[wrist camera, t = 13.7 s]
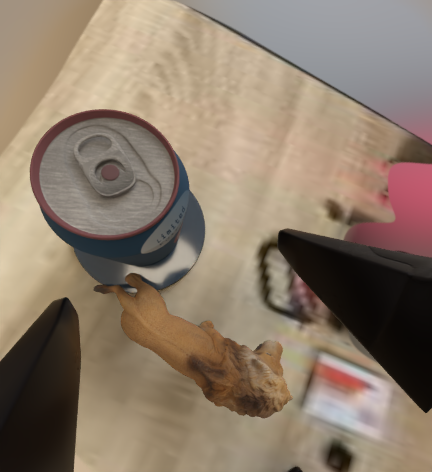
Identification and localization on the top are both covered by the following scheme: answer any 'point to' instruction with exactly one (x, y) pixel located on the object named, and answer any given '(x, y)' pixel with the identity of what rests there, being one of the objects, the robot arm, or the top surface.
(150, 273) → the coaster
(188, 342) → the lion figurine
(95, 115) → the soda can
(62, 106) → the top surface
